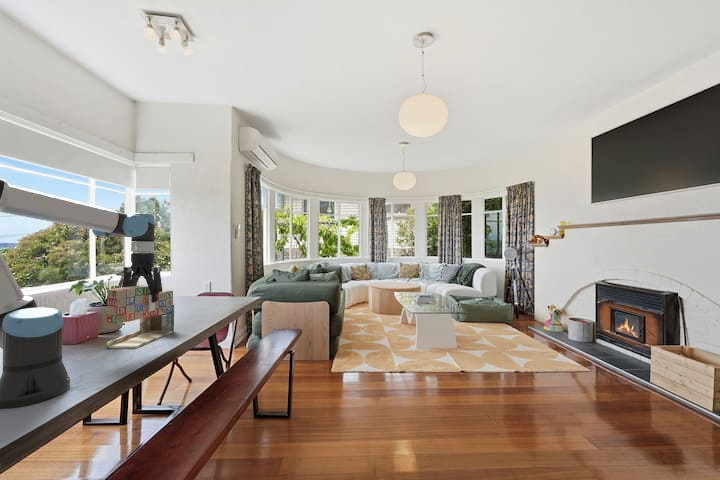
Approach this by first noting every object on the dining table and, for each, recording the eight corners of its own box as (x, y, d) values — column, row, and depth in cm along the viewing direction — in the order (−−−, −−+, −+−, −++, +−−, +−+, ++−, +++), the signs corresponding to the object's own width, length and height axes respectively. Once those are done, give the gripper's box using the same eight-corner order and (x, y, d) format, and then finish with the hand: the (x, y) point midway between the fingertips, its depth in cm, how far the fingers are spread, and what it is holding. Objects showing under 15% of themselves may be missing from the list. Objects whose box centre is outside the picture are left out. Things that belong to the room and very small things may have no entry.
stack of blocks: (163, 311, 135) (164, 282, 135) (173, 312, 132) (173, 283, 133) (106, 322, 116) (107, 288, 116) (116, 324, 113) (116, 289, 113)
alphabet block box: (135, 348, 126) (135, 316, 126) (106, 348, 127) (106, 315, 127) (173, 331, 150) (174, 304, 150) (149, 331, 151) (150, 304, 151)
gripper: (174, 252, 127) (172, 309, 127) (125, 252, 129) (124, 308, 128) (161, 253, 120) (159, 313, 119) (109, 252, 121) (108, 311, 121)
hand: (141, 310), depth 124 cm, fingers closed on stack of blocks, 8 cm apart
